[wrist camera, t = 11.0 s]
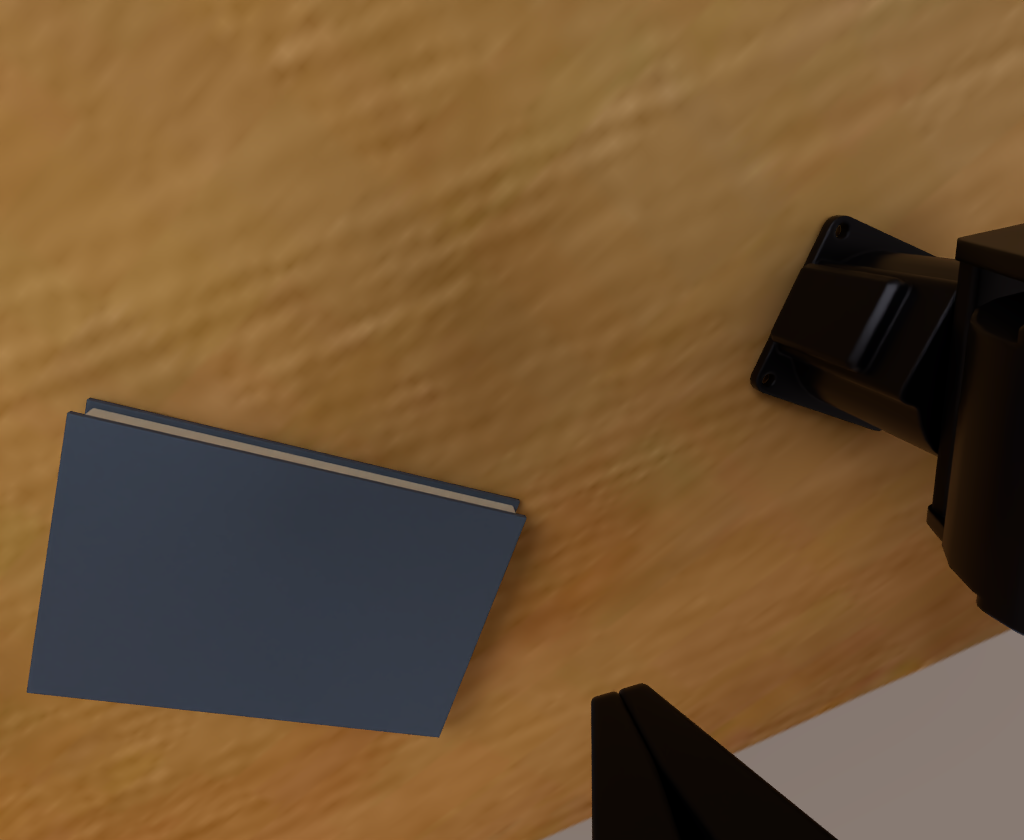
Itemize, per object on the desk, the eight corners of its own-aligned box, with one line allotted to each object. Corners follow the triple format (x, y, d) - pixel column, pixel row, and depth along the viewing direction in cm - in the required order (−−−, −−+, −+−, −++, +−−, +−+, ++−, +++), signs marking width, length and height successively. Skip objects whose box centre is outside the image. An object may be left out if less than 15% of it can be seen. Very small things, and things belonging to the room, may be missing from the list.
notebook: (518, 499, 22) (526, 518, 21) (436, 709, 25) (439, 737, 24) (89, 397, 18) (66, 412, 17) (48, 662, 21) (26, 693, 20)
